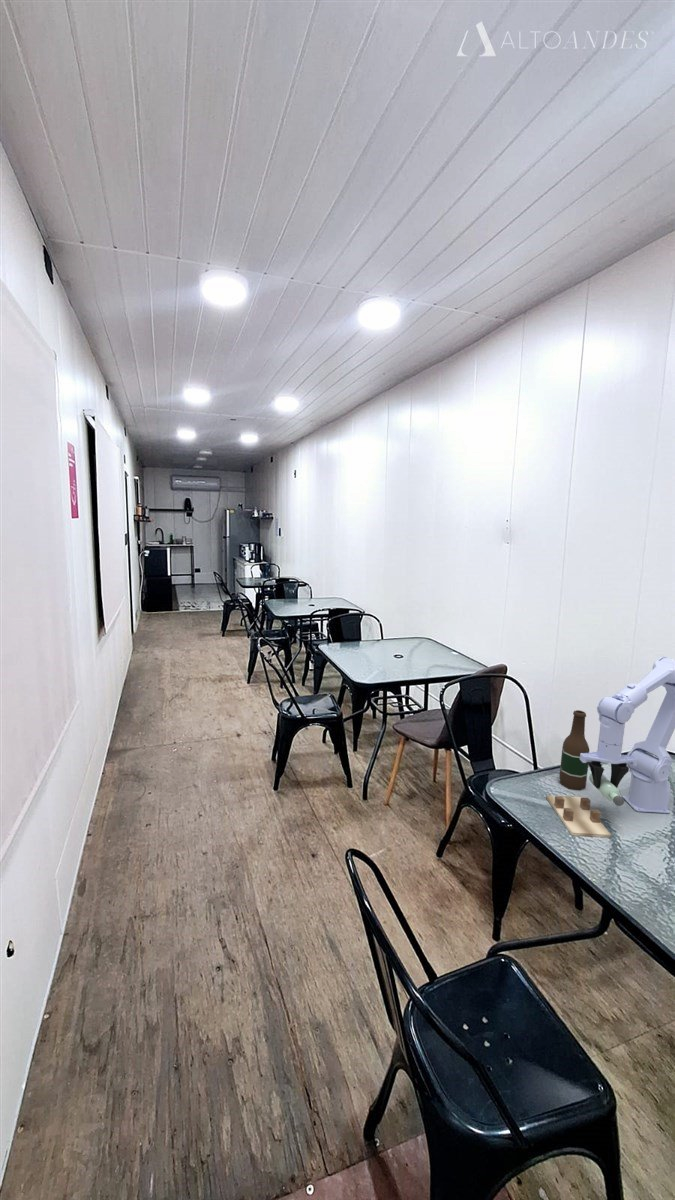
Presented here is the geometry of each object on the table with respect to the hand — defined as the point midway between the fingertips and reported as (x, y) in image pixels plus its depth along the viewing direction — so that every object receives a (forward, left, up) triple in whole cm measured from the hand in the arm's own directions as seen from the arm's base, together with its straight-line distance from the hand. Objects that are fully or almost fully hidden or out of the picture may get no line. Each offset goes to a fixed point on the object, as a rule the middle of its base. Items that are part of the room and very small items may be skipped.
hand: (604, 787), depth 133 cm
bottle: (0, +1, -2) cm, 2 cm away
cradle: (+7, +1, -9) cm, 11 cm away
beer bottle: (+1, -17, -9) cm, 19 cm away
